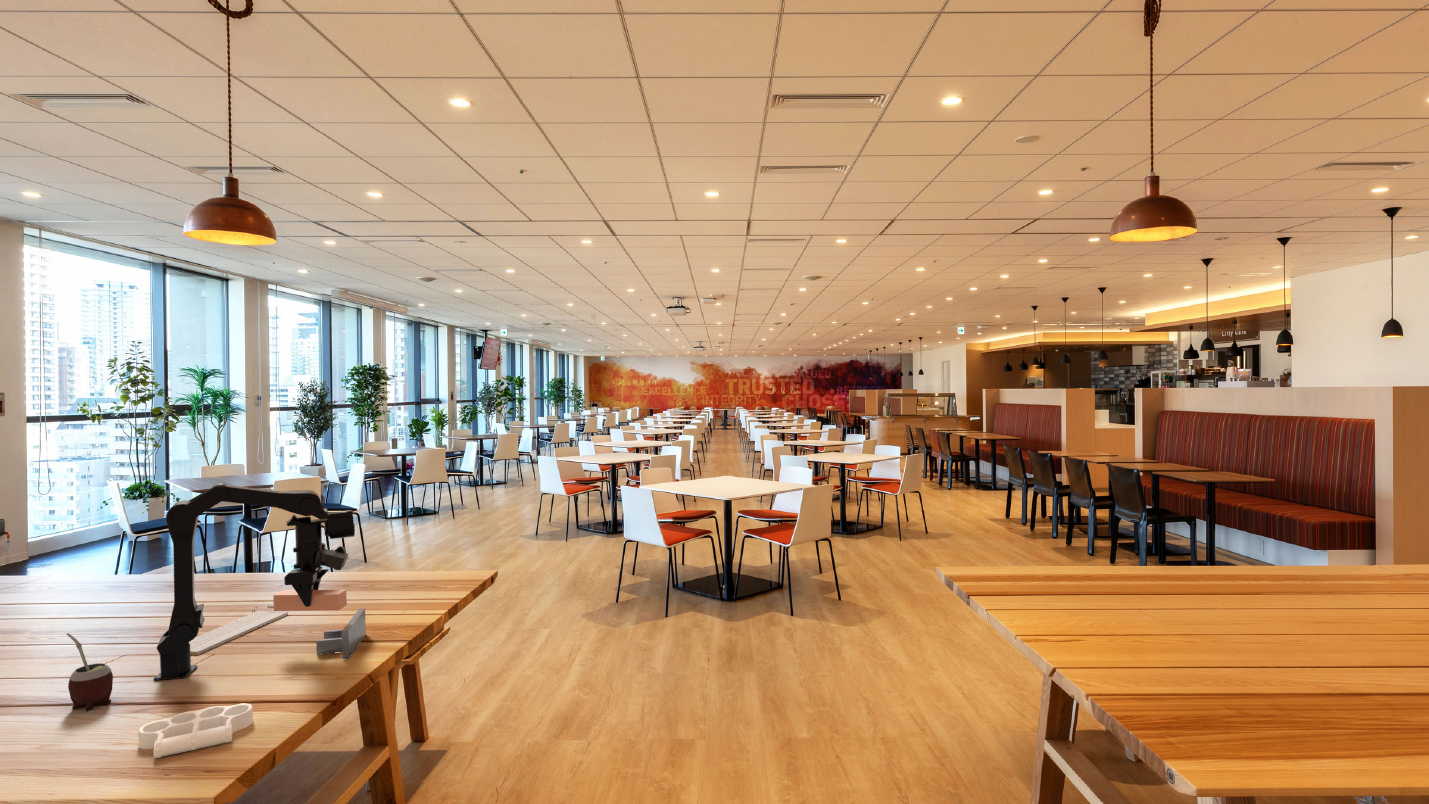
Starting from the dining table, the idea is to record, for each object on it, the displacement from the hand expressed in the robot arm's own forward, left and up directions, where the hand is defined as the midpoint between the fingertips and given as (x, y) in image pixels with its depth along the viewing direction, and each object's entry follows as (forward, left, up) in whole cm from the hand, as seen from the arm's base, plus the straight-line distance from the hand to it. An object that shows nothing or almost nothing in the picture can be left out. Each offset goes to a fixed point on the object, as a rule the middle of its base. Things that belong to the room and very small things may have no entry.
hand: (310, 603), depth 183 cm
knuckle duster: (-43, +8, -13) cm, 45 cm away
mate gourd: (-22, +36, -12) cm, 44 cm away
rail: (0, 0, -1) cm, 1 cm away
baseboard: (+21, +27, -13) cm, 36 cm away
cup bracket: (0, -6, -12) cm, 13 cm away
